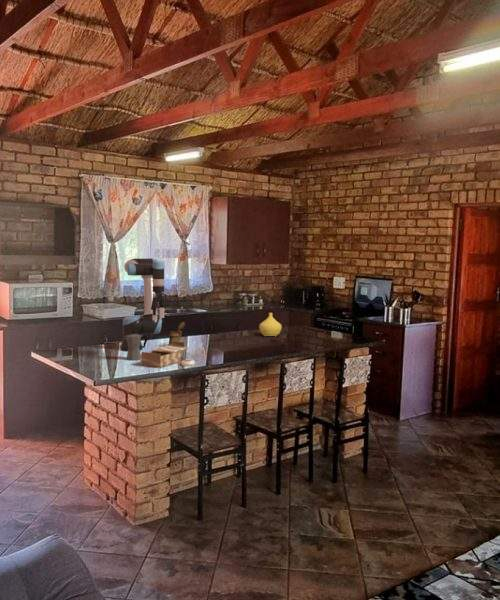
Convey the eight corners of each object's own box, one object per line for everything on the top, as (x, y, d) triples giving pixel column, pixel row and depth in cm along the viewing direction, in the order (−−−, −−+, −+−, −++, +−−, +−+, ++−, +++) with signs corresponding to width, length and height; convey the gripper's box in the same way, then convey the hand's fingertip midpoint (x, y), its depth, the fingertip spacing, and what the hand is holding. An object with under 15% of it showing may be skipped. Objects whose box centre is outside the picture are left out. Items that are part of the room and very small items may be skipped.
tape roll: (186, 363, 345) (186, 359, 345) (197, 364, 341) (197, 360, 341) (178, 365, 338) (178, 361, 338) (189, 366, 334) (189, 362, 334)
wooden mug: (188, 346, 403) (188, 321, 401) (172, 348, 394) (172, 323, 392) (180, 344, 409) (180, 320, 408) (165, 347, 400) (165, 322, 398)
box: (160, 359, 354) (160, 346, 353) (180, 362, 347) (180, 349, 346) (140, 365, 336) (140, 351, 336) (160, 368, 330) (160, 354, 329)
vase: (270, 333, 472) (271, 311, 470) (285, 336, 458) (286, 313, 456) (254, 335, 460) (254, 312, 458) (269, 338, 446) (269, 314, 444)
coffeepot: (121, 360, 350) (121, 332, 348) (125, 357, 359) (125, 329, 358) (146, 360, 350) (146, 332, 348) (149, 357, 359) (149, 330, 358)
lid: (170, 346, 362) (170, 340, 362) (188, 348, 356) (188, 342, 355) (152, 350, 345) (152, 344, 345) (171, 352, 339) (171, 347, 338)
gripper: (159, 284, 364) (159, 316, 366) (145, 286, 340) (145, 321, 342) (170, 284, 363) (170, 317, 365) (157, 286, 339) (157, 321, 340)
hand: (158, 319), depth 353 cm, fingers open, 13 cm apart
